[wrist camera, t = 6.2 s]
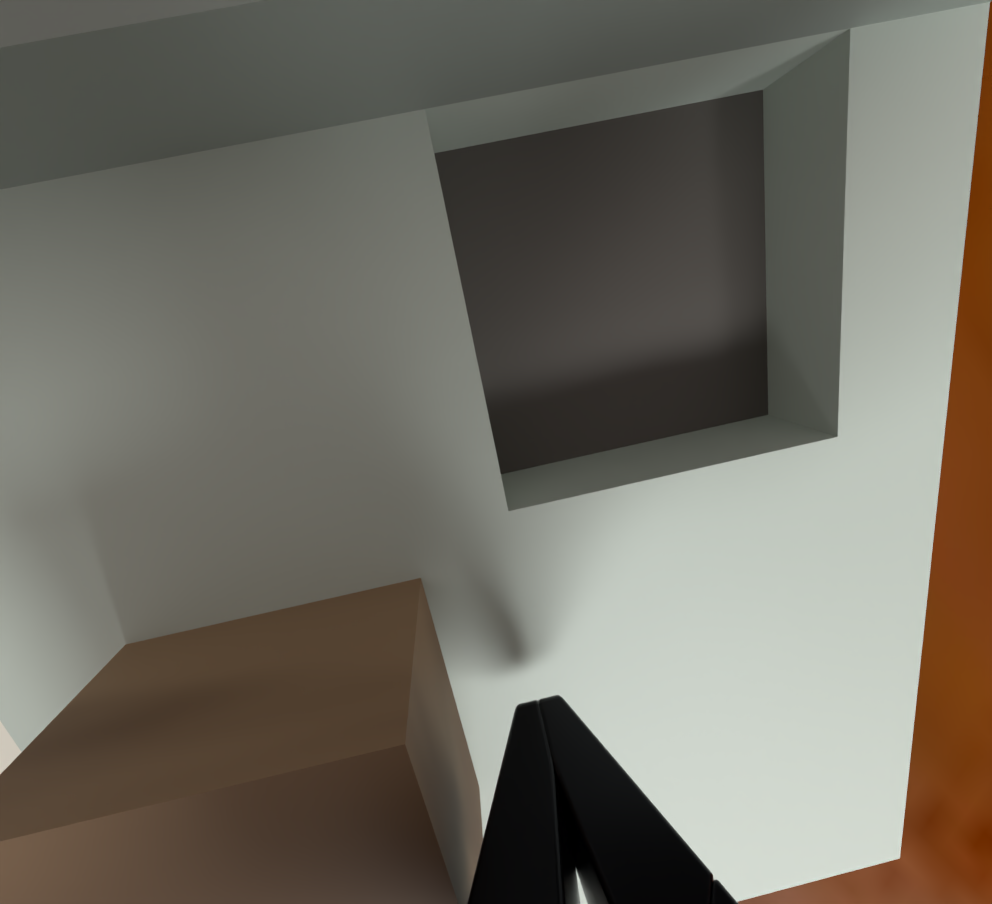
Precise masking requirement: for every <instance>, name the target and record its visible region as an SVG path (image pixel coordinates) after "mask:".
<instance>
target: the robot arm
mask: <svg viewBox="0 0 992 904" xmlns="http://www.w3.org/2000/svg"><path fill="white" fill-rule="evenodd" d="M576 870H577V873H578V876H579V879H580V882H581V885H582V888H583V891H584V894H585V897H586V900H587V904H738V903H737V901H736V900H735V899H734V898H733V897H732V896H731V894H730V893H729V892H728V891H727V890H726V888H725V887H724V886H723V885H722V884H721V883H720V881H719V880H716V879H715V880H714V878H713V874H712V872H711V871H710V870H709V869H708V868H707V867H706V865H705V864H704V863H703V862H702V861H701V860H700V858H699V857H698V856H697V855H696V854H695V852H694V851H693V850H692V849H691V848H690V847H689V845H688V844H687V843H686V842H685V841H684V840H683V838H682V837H681V836H680V835H679V834H678V832H677V831H676V830H675V829H674V828H673V827H672V825H671V824H670V823H669V822H668V821H667V820H666V818H665V817H664V816H663V815H662V814H661V813H660V811H659V810H658V809H657V808H656V807H655V805H654V804H653V803H652V802H651V801H650V800H649V798H648V797H647V796H646V795H645V794H644V793H643V791H642V790H641V789H640V788H639V787H638V785H637V784H636V783H635V782H634V781H633V780H632V778H631V777H630V776H629V775H628V774H627V773H626V771H625V770H624V769H623V768H622V767H621V766H620V764H619V763H618V762H617V761H616V760H615V758H614V757H613V756H612V755H611V754H610V753H609V751H608V750H607V749H606V748H605V747H604V746H603V744H602V743H601V742H600V741H599V740H598V738H597V737H596V736H595V735H594V734H593V733H592V731H591V730H590V729H589V728H588V727H587V726H586V724H585V723H584V722H583V721H582V720H581V718H580V717H579V716H578V715H577V714H576V713H575V711H574V710H573V709H572V708H571V707H570V706H569V704H568V703H567V702H566V701H565V700H564V699H563V698H562V697H561V696H560V695H554V696H550V697H546V698H542V699H539V700H533V701H529V702H525V703H521V704H518V705H517V706H516V708H515V711H514V715H513V719H512V723H511V727H510V731H509V736H508V740H507V744H506V748H505V752H504V756H503V760H502V764H501V768H500V772H499V776H498V780H497V784H496V788H495V793H494V797H493V801H492V805H491V809H490V813H489V817H488V821H487V825H486V829H485V833H484V837H483V841H482V845H481V850H480V854H479V858H478V862H477V866H476V870H475V874H474V878H473V882H472V886H471V890H470V894H469V898H468V902H467V904H580V897H579V889H578V881H577V874H576Z"/></svg>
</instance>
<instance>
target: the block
mask: <svg viewBox="0 0 992 904" xmlns="http://www.w3.org/2000/svg"><path fill="white" fill-rule="evenodd" d="M482 841H483V832H482V818H481V803H480V789H479V784H478V780H477V777H476V773H475V770H474V766H473V762H472V759H471V755H470V752H469V748H468V745H467V741H466V737H465V734H464V730H463V727H462V723H461V720H460V716H459V712H458V709H457V705H456V702H455V698H454V694H453V691H452V687H451V684H450V680H449V677H448V673H447V669H446V666H445V662H444V659H443V655H442V652H441V648H440V644H439V641H438V637H437V634H436V630H435V627H434V623H433V619H432V616H431V612H430V609H429V605H428V601H427V598H426V594H425V591H424V587H423V584H422V580H421V578H418V579H413V580H409V581H404V582H400V583H396V584H391V585H387V586H382V587H378V588H373V589H369V590H365V591H360V592H356V593H351V594H347V595H342V596H338V597H334V598H329V599H325V600H320V601H316V602H311V603H307V604H303V605H298V606H294V607H289V608H285V609H280V610H276V611H272V612H267V613H263V614H258V615H254V616H249V617H245V618H241V619H236V620H232V621H227V622H223V623H219V624H214V625H210V626H205V627H201V628H196V629H192V630H188V631H183V632H179V633H174V634H170V635H165V636H161V637H157V638H152V639H148V640H143V641H139V642H134V643H130V644H126V645H125V646H124V647H123V648H122V649H121V650H120V651H119V652H118V653H117V654H116V655H115V656H114V657H113V658H112V659H111V660H110V661H109V662H108V663H107V664H106V665H105V666H104V667H103V668H102V669H101V670H100V671H99V673H98V674H97V675H96V676H95V677H94V678H93V679H92V680H91V681H90V682H89V683H88V684H87V685H86V686H85V687H84V688H83V689H82V690H81V691H80V692H79V693H78V694H77V695H76V696H75V697H74V698H73V699H72V701H71V702H70V703H69V704H68V705H67V706H66V707H65V708H64V709H63V710H62V711H61V712H60V713H59V714H58V715H57V716H56V717H55V718H54V719H53V720H52V721H51V722H50V723H49V724H48V725H47V726H46V728H45V729H44V730H43V731H42V732H41V733H40V734H39V735H38V736H37V737H36V738H35V739H34V740H33V741H32V742H31V743H30V744H29V745H28V746H27V747H26V748H25V749H24V750H23V751H22V752H21V753H20V754H19V756H18V757H17V758H16V759H15V760H14V761H13V762H12V763H11V764H10V765H9V766H8V767H7V768H6V769H5V770H4V771H3V772H2V773H1V774H0V904H467V902H468V898H469V894H470V890H471V886H472V882H473V878H474V874H475V870H476V866H477V862H478V858H479V854H480V850H481V845H482Z"/></svg>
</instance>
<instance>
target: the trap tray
mask: <svg viewBox="0 0 992 904" xmlns="http://www.w3.org/2000/svg"><path fill="white" fill-rule="evenodd" d="M990 1H992V0H0V774H1V773H2V772H3V771H4V770H5V769H6V768H7V767H8V766H9V765H10V764H11V763H12V762H13V761H14V760H15V759H16V758H17V757H18V756H19V754H20V753H21V752H22V751H23V750H24V749H25V748H26V747H27V746H28V745H29V744H30V743H31V742H32V741H33V740H34V739H35V738H36V737H37V736H38V735H39V734H40V733H41V732H42V731H43V730H44V729H45V728H46V726H47V725H48V724H49V723H50V722H51V721H52V720H53V719H54V718H55V717H56V716H57V715H58V714H59V713H60V712H61V711H62V710H63V709H64V708H65V707H66V706H67V705H68V704H69V703H70V702H71V701H72V699H73V698H74V697H75V696H76V695H77V694H78V693H79V692H80V691H81V690H82V689H83V688H84V687H85V686H86V685H87V684H88V683H89V682H90V681H91V680H92V679H93V678H94V677H95V676H96V675H97V674H98V673H99V671H100V670H101V669H102V668H103V667H104V666H105V665H106V664H107V663H108V662H109V661H110V660H111V659H112V658H113V657H114V656H115V655H116V654H117V653H118V652H119V651H120V650H121V649H122V648H123V647H124V646H125V645H126V644H130V643H134V642H139V641H143V640H148V639H152V638H157V637H161V636H165V635H170V634H174V633H179V632H183V631H188V630H192V629H196V628H201V627H205V626H210V625H214V624H219V623H223V622H227V621H232V620H236V619H241V618H245V617H249V616H254V615H258V614H263V613H267V612H272V611H276V610H280V609H285V608H289V607H294V606H298V605H303V604H307V603H311V602H316V601H320V600H325V599H329V598H334V597H338V596H342V595H347V594H351V593H356V592H360V591H365V590H369V589H373V588H378V587H382V586H387V585H391V584H396V583H400V582H404V581H409V580H413V579H418V578H421V580H422V584H423V587H424V591H425V594H426V598H427V601H428V605H429V609H430V612H431V616H432V619H433V623H434V627H435V630H436V634H437V637H438V641H439V644H440V648H441V652H442V655H443V659H444V662H445V666H446V669H447V673H448V677H449V680H450V684H451V687H452V691H453V694H454V698H455V702H456V705H457V709H458V712H459V716H460V720H461V723H462V727H463V730H464V734H465V737H466V741H467V745H468V748H469V752H470V755H471V759H472V762H473V766H474V770H475V773H476V777H477V780H478V784H479V789H480V803H481V818H482V832H483V837H484V833H485V829H486V825H487V821H488V817H489V813H490V809H491V805H492V801H493V797H494V793H495V788H496V784H497V780H498V776H499V772H500V768H501V764H502V760H503V756H504V752H505V748H506V744H507V740H508V736H509V731H510V727H511V723H512V719H513V715H514V711H515V708H516V706H517V705H518V704H521V703H525V702H529V701H533V700H539V699H542V698H546V697H550V696H554V695H560V696H561V697H562V698H563V699H564V700H565V701H566V702H567V703H568V704H569V706H570V707H571V708H572V709H573V710H574V711H575V713H576V714H577V715H578V716H579V717H580V718H581V720H582V721H583V722H584V723H585V724H586V726H587V727H588V728H589V729H590V730H591V731H592V733H593V734H594V735H595V736H596V737H597V738H598V740H599V741H600V742H601V743H602V744H603V746H604V747H605V748H606V749H607V750H608V751H609V753H610V754H611V755H612V756H613V757H614V758H615V760H616V761H617V762H618V763H619V764H620V766H621V767H622V768H623V769H624V770H625V771H626V773H627V774H628V775H629V776H630V777H631V778H632V780H633V781H634V782H635V783H636V784H637V785H638V787H639V788H640V789H641V790H642V791H643V793H644V794H645V795H646V796H647V797H648V798H649V800H650V801H651V802H652V803H653V804H654V805H655V807H656V808H657V809H658V810H659V811H660V813H661V814H662V815H663V816H664V817H665V818H666V820H667V821H668V822H669V823H670V824H671V825H672V827H673V828H674V829H675V830H676V831H677V832H678V834H679V835H680V836H681V837H682V838H683V840H684V841H685V842H686V843H687V844H688V845H689V847H690V848H691V849H692V850H693V851H694V852H695V854H696V855H697V856H698V857H699V858H700V860H701V861H702V862H703V863H704V864H705V865H706V867H707V868H708V869H709V870H710V871H711V872H712V874H713V878H714V880H715V879H716V880H719V881H720V883H721V884H722V885H723V886H724V887H725V888H726V890H727V891H728V892H729V893H730V894H731V896H732V897H733V898H734V899H735V900H736V901H737V902H738V901H741V900H745V899H749V898H753V897H756V896H760V895H764V894H768V893H771V892H775V891H779V890H783V889H786V888H790V887H794V886H798V885H802V884H805V883H809V882H813V881H817V880H820V879H824V878H828V877H832V876H835V875H839V874H843V873H847V872H850V871H854V870H858V869H862V868H865V867H869V866H873V865H877V864H880V863H884V862H888V861H892V860H895V859H899V858H900V852H901V842H902V833H903V823H904V814H905V804H906V795H907V785H908V776H909V766H910V757H911V747H912V738H913V728H914V719H915V709H916V700H917V690H918V681H919V671H920V662H921V652H922V643H923V633H924V624H925V614H926V605H927V595H928V586H929V576H930V567H931V557H932V548H933V538H934V529H935V519H936V510H937V500H938V491H939V481H940V472H941V462H942V453H943V443H944V434H945V424H946V415H947V405H948V396H949V386H950V377H951V367H952V358H953V348H954V339H955V329H956V320H957V310H958V301H959V291H960V282H961V272H962V263H963V253H964V244H965V234H966V225H967V215H968V206H969V196H970V187H971V177H972V168H973V158H974V149H975V139H976V130H977V120H978V111H979V101H980V92H981V82H982V73H983V63H984V54H985V44H986V35H987V25H988V16H989V6H990ZM576 874H577V881H578V889H579V897H580V904H587V900H586V897H585V894H584V891H583V888H582V885H581V882H580V879H579V876H578V873H577V870H576Z"/></svg>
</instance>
